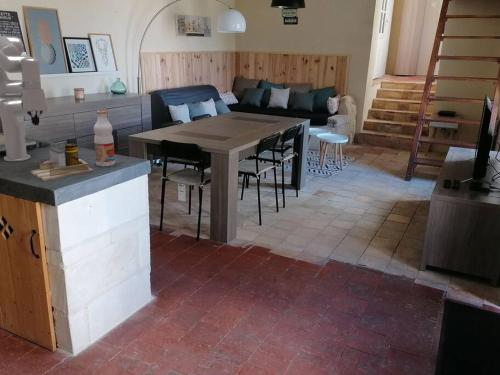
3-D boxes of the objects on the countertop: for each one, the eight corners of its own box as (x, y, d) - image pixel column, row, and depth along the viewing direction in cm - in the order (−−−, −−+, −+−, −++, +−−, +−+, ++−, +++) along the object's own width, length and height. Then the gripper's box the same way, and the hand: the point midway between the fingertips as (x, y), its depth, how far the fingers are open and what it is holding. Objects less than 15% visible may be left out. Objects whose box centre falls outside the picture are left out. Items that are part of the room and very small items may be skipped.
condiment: (81, 169, 213) (79, 145, 209) (63, 171, 208) (61, 147, 204) (77, 165, 219) (75, 142, 215) (60, 167, 214) (57, 144, 210)
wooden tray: (30, 173, 208) (29, 164, 206) (79, 165, 224) (78, 157, 223) (43, 180, 197) (42, 172, 196) (93, 171, 213) (93, 163, 212)
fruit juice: (98, 162, 231) (94, 109, 222) (116, 162, 232) (113, 109, 223) (94, 166, 222) (89, 112, 213) (112, 167, 223) (109, 112, 214)
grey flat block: (51, 168, 211) (48, 148, 208) (57, 167, 213) (55, 147, 210) (60, 173, 204) (57, 152, 201) (66, 172, 206) (64, 151, 203)
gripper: (17, 87, 192) (21, 127, 199) (51, 86, 202) (54, 124, 209) (11, 85, 197) (16, 124, 203) (45, 84, 207) (48, 121, 213)
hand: (35, 124), depth 206 cm, fingers closed
